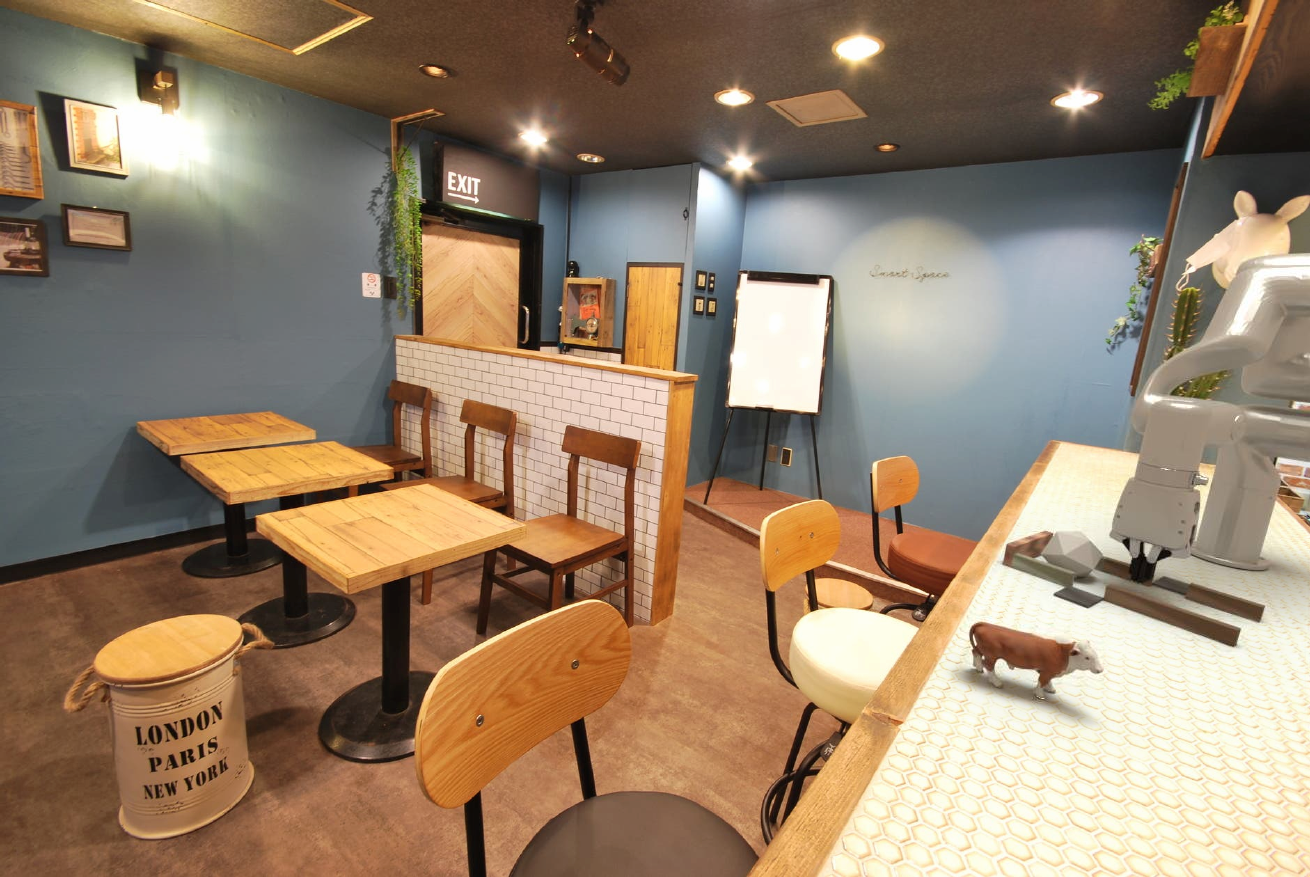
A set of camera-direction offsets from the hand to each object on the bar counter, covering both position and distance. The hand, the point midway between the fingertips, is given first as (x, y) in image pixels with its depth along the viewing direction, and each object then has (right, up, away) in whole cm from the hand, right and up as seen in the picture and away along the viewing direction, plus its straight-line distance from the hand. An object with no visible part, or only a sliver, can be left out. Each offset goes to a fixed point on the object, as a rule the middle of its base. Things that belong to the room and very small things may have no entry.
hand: (1139, 580), depth 99 cm
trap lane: (-1, -2, +2) cm, 3 cm away
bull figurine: (-37, -6, -28) cm, 47 cm away
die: (-7, -1, +8) cm, 10 cm away
